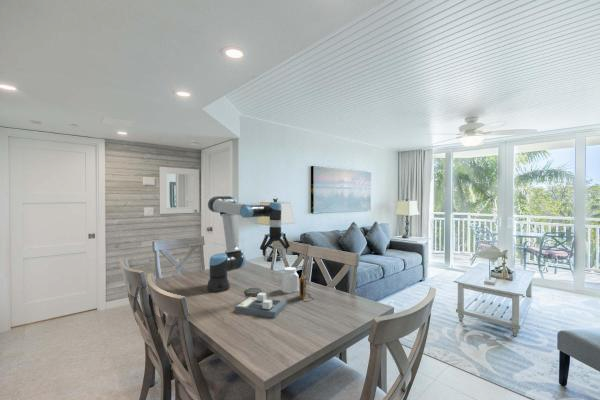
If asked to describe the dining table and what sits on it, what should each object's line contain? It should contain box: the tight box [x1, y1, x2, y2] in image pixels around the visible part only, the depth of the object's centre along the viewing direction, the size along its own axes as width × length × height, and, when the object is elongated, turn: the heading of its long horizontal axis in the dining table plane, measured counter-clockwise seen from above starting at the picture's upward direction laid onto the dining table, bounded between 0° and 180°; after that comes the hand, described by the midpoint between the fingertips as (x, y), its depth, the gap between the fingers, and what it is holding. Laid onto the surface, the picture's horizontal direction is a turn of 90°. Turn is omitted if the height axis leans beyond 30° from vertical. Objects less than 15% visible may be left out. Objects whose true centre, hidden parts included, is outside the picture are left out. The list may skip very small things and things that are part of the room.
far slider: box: [256, 292, 267, 301], centre depth 162 cm, size 4×4×4 cm
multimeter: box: [299, 264, 315, 303], centre depth 175 cm, size 15×10×20 cm
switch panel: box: [234, 296, 287, 319], centre depth 157 cm, size 24×16×3 cm, turn 71°
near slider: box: [262, 298, 273, 309], centre depth 151 cm, size 4×4×4 cm
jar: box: [281, 266, 300, 294], centre depth 189 cm, size 12×10×15 cm
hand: (275, 259), depth 179 cm, fingers open, 13 cm apart
